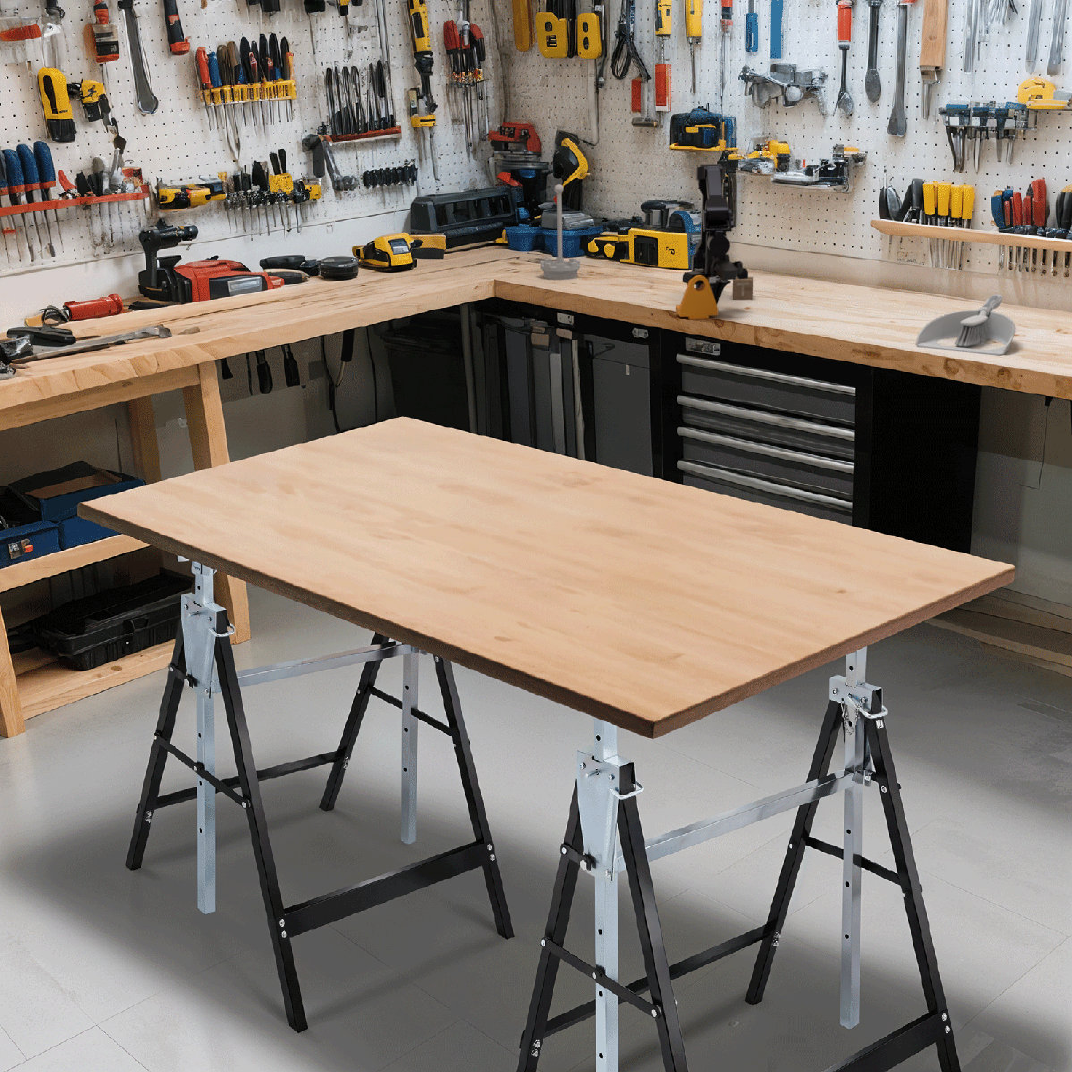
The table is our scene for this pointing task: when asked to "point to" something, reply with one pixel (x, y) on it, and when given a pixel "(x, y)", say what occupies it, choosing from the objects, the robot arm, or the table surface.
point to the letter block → (743, 289)
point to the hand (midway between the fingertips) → (714, 305)
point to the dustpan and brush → (970, 329)
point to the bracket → (697, 301)
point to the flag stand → (560, 251)
